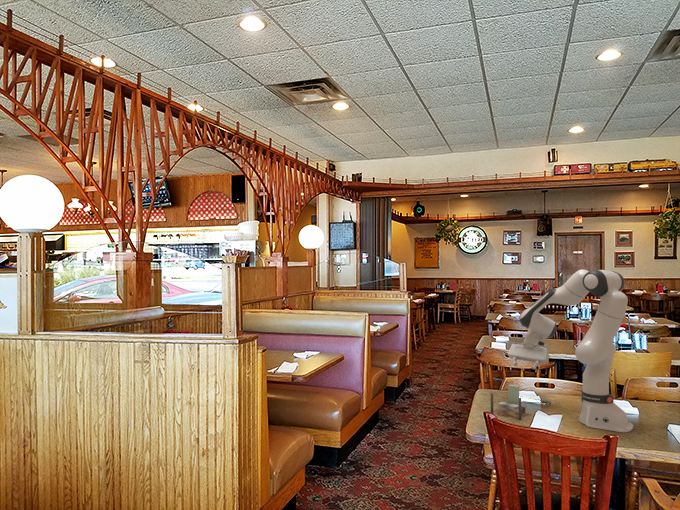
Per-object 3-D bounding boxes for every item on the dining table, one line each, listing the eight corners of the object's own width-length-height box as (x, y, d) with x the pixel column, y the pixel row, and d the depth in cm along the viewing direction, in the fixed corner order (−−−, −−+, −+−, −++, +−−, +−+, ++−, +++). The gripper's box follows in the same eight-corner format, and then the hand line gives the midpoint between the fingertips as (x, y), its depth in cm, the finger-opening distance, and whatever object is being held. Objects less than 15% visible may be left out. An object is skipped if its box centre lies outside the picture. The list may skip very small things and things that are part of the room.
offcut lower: (520, 415, 248) (520, 410, 248) (516, 418, 245) (516, 412, 245) (501, 411, 255) (501, 406, 255) (496, 413, 251) (496, 408, 251)
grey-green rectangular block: (519, 412, 253) (519, 386, 253) (517, 413, 252) (518, 386, 251) (509, 410, 256) (509, 384, 256) (508, 411, 255) (508, 385, 255)
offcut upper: (519, 410, 248) (519, 405, 248) (516, 412, 245) (516, 407, 245) (501, 406, 254) (501, 401, 254) (498, 408, 251) (498, 403, 251)
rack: (531, 417, 250) (531, 393, 250) (521, 423, 241) (521, 399, 241) (500, 410, 261) (500, 387, 261) (489, 416, 252) (489, 392, 252)
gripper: (510, 338, 275) (502, 360, 268) (549, 344, 262) (542, 366, 255) (514, 345, 279) (506, 367, 272) (552, 351, 265) (545, 374, 258)
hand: (523, 366), depth 263 cm, fingers open, 8 cm apart
